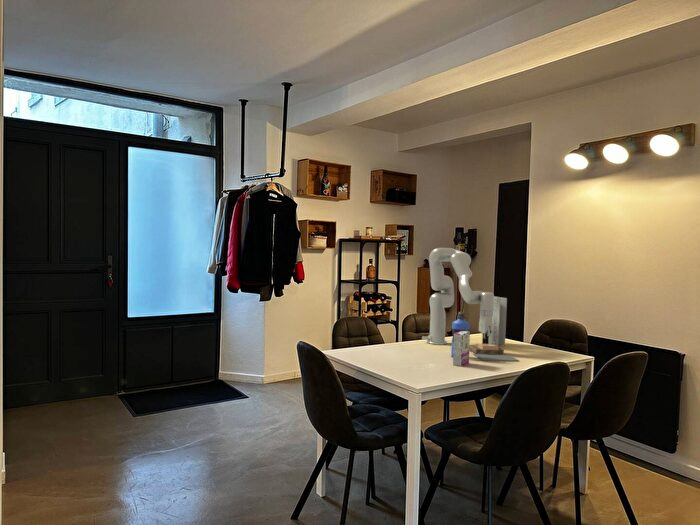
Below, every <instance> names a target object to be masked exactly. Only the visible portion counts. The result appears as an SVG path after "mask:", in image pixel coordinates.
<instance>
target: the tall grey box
mask: <svg viewBox="0 0 700 525" xmlns="http://www.w3.org/2000/svg"><path fill="white" fill-rule="evenodd" d="M507 304H508V298H507V297H500V296H495V295H494V307H493V317H492V333H491V334H490V336H489V344H495V345H497V346H498V347H499V346H501V345H504V346H503V347H506V331H507V330H506V328H507V309H508V308H507V307H508V305H507Z"/></svg>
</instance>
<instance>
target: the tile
mask: <svg viewBox="0 0 700 525" xmlns="http://www.w3.org/2000/svg"><path fill="white" fill-rule="evenodd" d="M478 345H479V348H480V349H482V350H498V347H499V345H498V346H497V345H495V344H482V343H478Z"/></svg>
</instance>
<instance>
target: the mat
mask: <svg viewBox="0 0 700 525" xmlns="http://www.w3.org/2000/svg"><path fill="white" fill-rule="evenodd" d="M472 355H473V356H474V357H476V358H477V359H479V360H480V361H482V362H518V361H519V362H520V360H519V359H517V358H515V357H513V356H511V355H510V354H505V353H504V354H474V353H472Z"/></svg>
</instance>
